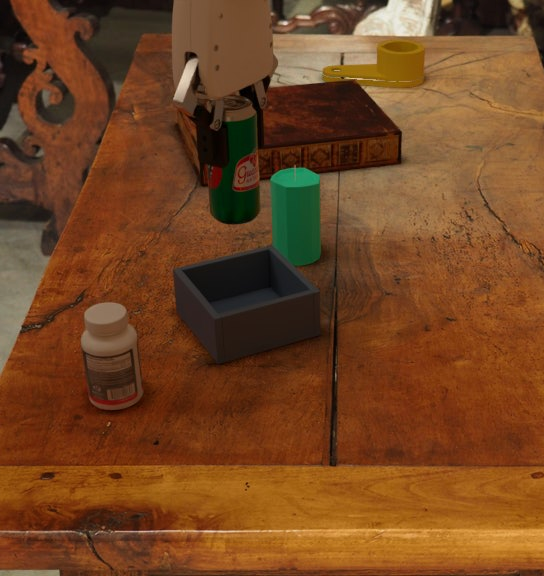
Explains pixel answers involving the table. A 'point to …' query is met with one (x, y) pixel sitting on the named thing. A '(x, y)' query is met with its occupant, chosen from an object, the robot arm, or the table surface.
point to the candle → (296, 215)
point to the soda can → (236, 165)
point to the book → (314, 130)
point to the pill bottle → (111, 357)
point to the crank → (386, 66)
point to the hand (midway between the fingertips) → (231, 152)
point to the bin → (246, 303)
